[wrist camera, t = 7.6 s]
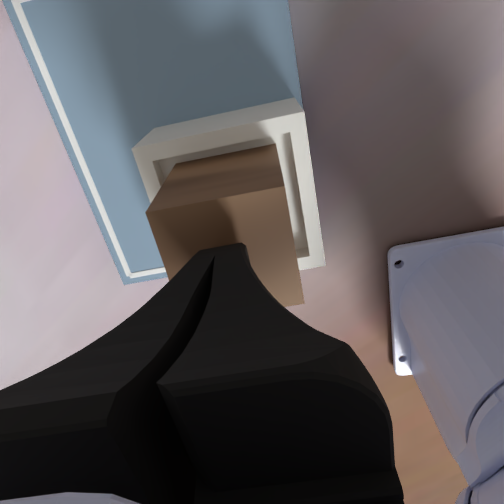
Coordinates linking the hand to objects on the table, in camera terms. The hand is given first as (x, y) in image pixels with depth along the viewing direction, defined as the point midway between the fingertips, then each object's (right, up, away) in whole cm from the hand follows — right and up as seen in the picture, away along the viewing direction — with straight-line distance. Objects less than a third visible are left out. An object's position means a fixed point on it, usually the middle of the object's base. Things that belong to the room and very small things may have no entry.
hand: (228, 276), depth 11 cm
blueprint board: (-2, +6, +8) cm, 10 cm away
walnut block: (0, +3, +5) cm, 6 cm away
